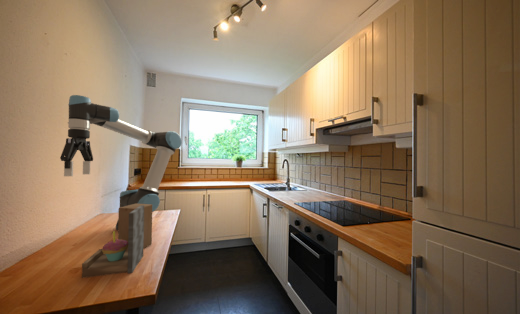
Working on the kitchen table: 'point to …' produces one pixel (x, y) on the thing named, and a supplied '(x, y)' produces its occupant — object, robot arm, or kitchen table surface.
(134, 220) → the wooden bookend
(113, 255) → the cupcake
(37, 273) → the kitchen table surface
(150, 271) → the kitchen table surface
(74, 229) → the kitchen table surface
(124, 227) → the wooden block
